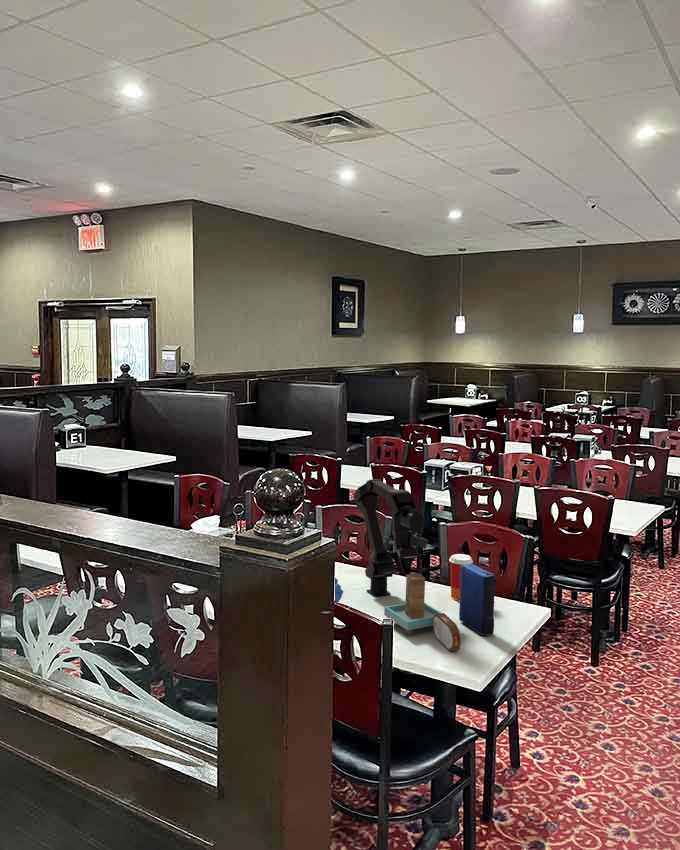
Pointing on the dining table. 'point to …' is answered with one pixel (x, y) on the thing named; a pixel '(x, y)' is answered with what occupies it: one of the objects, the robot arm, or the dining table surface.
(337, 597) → the grapes
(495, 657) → the dining table surface
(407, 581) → the walnut block
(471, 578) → the book
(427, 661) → the dining table surface
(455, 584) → the coffee cup
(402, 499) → the robot arm
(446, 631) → the tin
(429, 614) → the teal shallow tray
